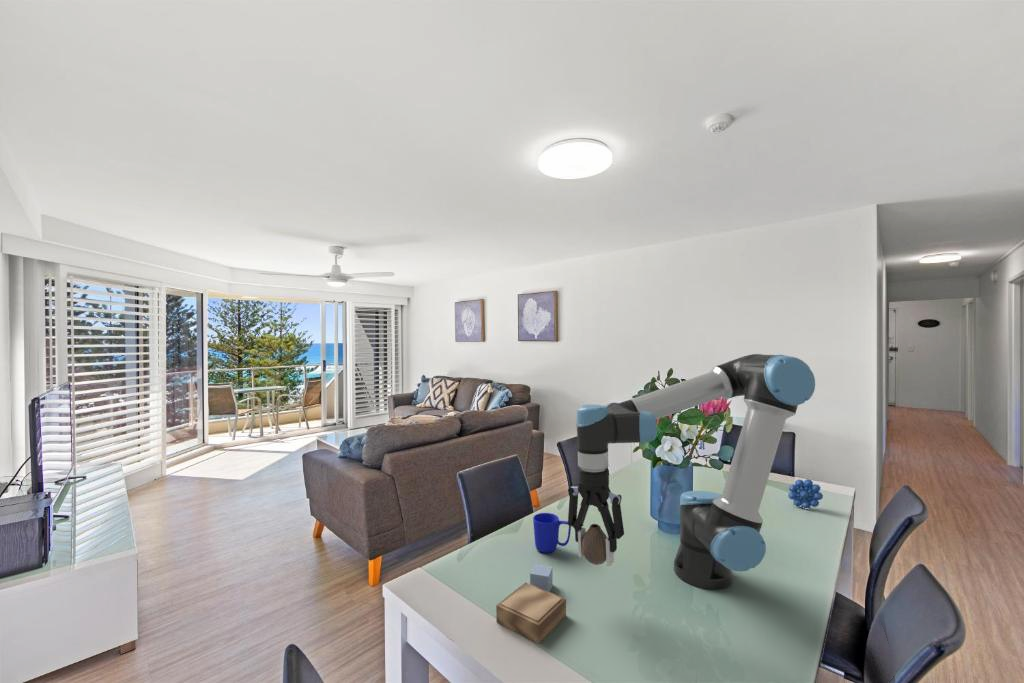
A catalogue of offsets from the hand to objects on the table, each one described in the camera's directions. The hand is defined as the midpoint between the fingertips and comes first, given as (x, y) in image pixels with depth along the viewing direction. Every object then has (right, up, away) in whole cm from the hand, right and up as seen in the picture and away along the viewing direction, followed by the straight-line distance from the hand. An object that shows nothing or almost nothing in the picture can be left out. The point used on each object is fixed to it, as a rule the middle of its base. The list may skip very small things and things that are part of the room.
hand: (596, 559), depth 107 cm
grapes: (+95, -12, +62) cm, 114 cm away
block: (-13, -12, +8) cm, 20 cm away
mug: (-8, -12, +30) cm, 33 cm away
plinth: (-16, -12, -4) cm, 21 cm away
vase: (0, -1, 0) cm, 1 cm away
